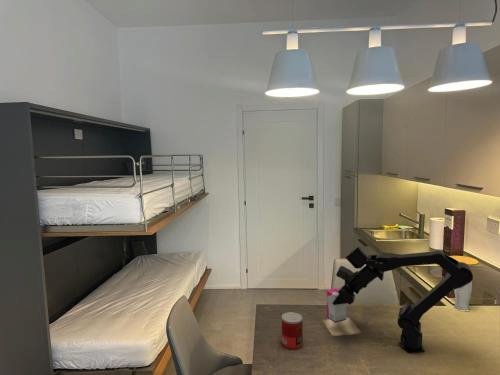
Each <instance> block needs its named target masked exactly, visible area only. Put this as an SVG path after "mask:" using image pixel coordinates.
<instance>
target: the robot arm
mask: <svg viewBox="0 0 500 375" xmlns="http://www.w3.org/2000/svg"><path fill="white" fill-rule="evenodd" d="M344 259H345V260H347V262H348V263H350V265H351V266H352V267H354V269H356V271H355V272H353V271H352V270H351V269H349V268H347V267H345V266H344V265H340V267H339V268H338V269H337V272H336V274H335V276H336V277H338V278H340V279H341V280H343V281H344V285H342V286H341V287H340V288H339V291H338V293H339V295H338V296H337V298H336V299H335V300H334V301H333V305H338V304H346V305H347V304H348V305H352V304H353V303H354V302H355V300H356V295H358V294H359V293H360V291H362V290H363V289H366V288H367V287H368V285H369V284H370V283H372V282H373V281H374V280H375V279H377V278H378V279H379V280H380V281H381V282H382V281H383V280H384V277H385V276H384V274H385V272H389V271H393V270H396V269H399V268H402V267H414V266H429V265H437V266H439V267H440V268H442V269H443V270H444V271H445V272H446V274H445V276H444V277H443V279H442V280H440V281H439V282H438V283H437V284H436V285H435V286H434V287H433V288H431V289H430V290H429V291H427V293H425V294H424V295H423V296H422V297H421V298H420V299H419V300H417V301H416V302H415V303H412V304H409V302H405V304H404V305H403V306H401V307H399V311H398V315H397V321H396V322H397V326H398V327H399V328H400V329H401V334H400V336H399V337H400V341H398V344H399V345H400V346H401V348H403V350H405V351H406V353H408V354H412V353H413V354H415V353H422V352H425V349H424V348H423V332H422V323H421V321H420V320H421V319H422V317H423V316H424V314H426V313H427V312H428V311H429V310H431V309H432V308H433V307H434V306H436V304H438V303H439V302H440V301H442V300H443V299H444V298H445V297H446V296H448V294H450V293H451V292H452V291H454V289H458V288H461V287H463V286H465V285H467V284H469V283H470V282H471V281H472V282H473V280H474V275H473V272H472V268H471V267H470V265H469V264H467V262H462V261H458V260H457V259H455V258H454V257H451V256H450V255H447V254H446V253H444V252H443V251H441V250H433V251H426V252H425V251H422V252H413V253H412V252H411V253H404V254H403V253H402V254H399V253H393V252H379V253H377V254H369V255H367V254H366V253H365V252H364V251H363V250H362V248H361V247H360V246H357V247H355V248H354V249H352V250H350V251H349V252H348V253H347V254H346V255H345V256H344ZM358 270H359V271H358Z"/></svg>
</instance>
